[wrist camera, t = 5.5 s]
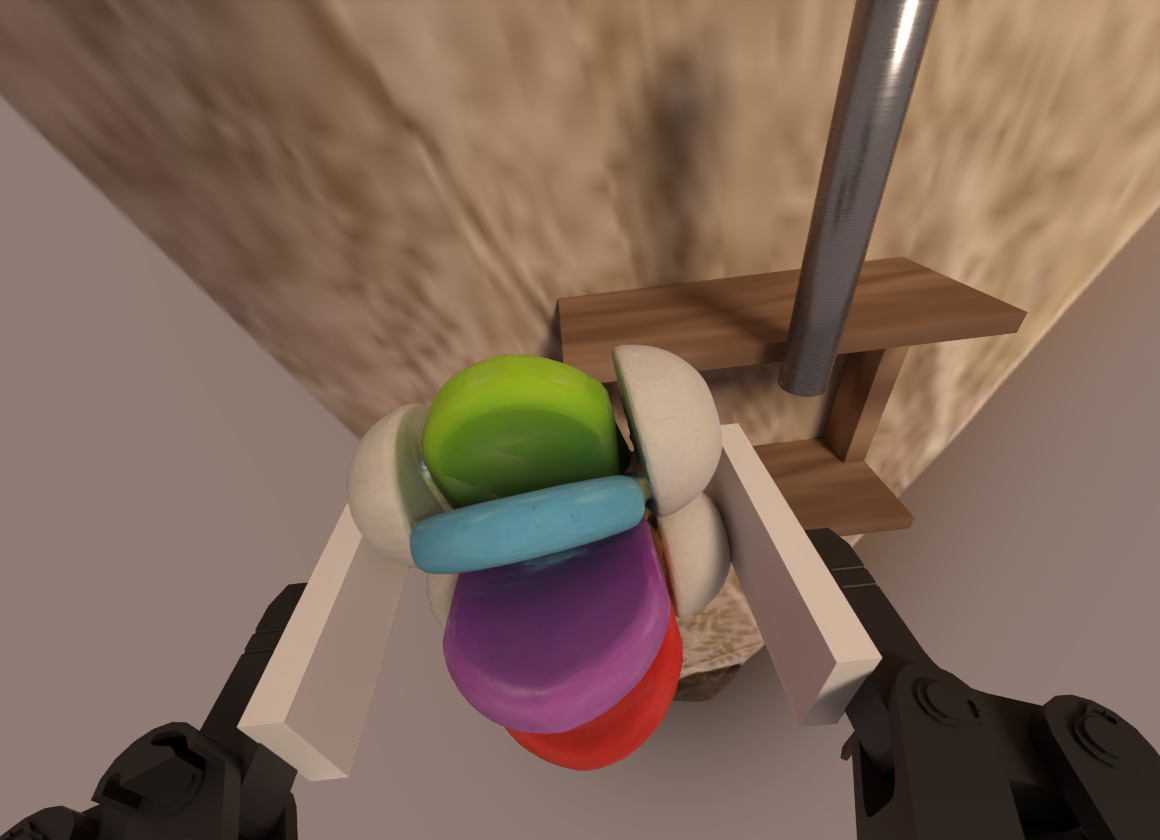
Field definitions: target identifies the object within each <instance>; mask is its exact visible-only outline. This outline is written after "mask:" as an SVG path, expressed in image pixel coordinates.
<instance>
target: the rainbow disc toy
mask: <svg viewBox="0 0 1160 840" xmlns="http://www.w3.org/2000/svg"><path fill="white" fill-rule="evenodd" d="M612 359H613V364H614V368H615V373H616V377H617V381H618V386H619V390H620V394H621V400H622V403H623V409H624V412H625V415H626V418H627V422H628V427H629V431H630V436H629V438H630V440H631V441H632V444H633V447H634V451H633V452H631V451H630V450H629V448H628V445H627V444H626V442H625V440H624V438H623V436H622V434H621V432H620V430H619V428H618V426H617V424H616V422H615V417H614V411H613V406H612V402H611V398H610V395H609V393H608V391H607V389H606V388H605V387H604V386H603V385H602V384H601V383H600V382H599V381H597V380H596V379H594V378H592V377H590V376H588V375H587V374H585V373H583V372H582V371H580V370H578V369H576V368H574V367H572V366H569V365H567V364H564V363H561V362H558V361H555V360H551V359H548V358H543V357H538V356H531V355H500V356H496V357H493V358H489V359H486V360H484V361H481V362H478V363H476V364H474V365H472V366H469V367H468V368H466V369H464V370H462V371H460V372H458V373H457V374H456V375H454V376H453V377H452V378H451V379H450V380H448V381H447V382H446V383H445V384H444V385H443V387H442V388H441V389H440V391H439V392H438V394H437V395H436V397H435V398H434V401H433V403H432V405H431V407H430V408H429V407H428V406H426V405H424V404H420V403H409V404H406V405H404V406H401V407H399V408H397V409H395V410H393V411H392V412H390V413H388V414H387V415H385V416H384V417H383V418H381V419H380V420H379V421H378V422H376V423H375V424H374V425H373V426H372V427H371V428H370V429H369V431H368V432H367V433H366V434H365V435H364V437H363V438H362V440H361V441H360V443H359V445H358V447H357V449H356V451H355V453H354V455H353V458H352V460H351V463H350V467H349V471H348V477H347V500H348V504H349V508H350V512H351V515H352V517H353V520H354V522H355V524H356V526H357V528H358V530H359V531H360V533H361V534H362V535H363V537H364V538H365V539H366V541H367V542H368V543H369V544H370V545H371V546H372V547H373V548H375V549H376V550H377V551H378V552H379V553H381V554H382V555H384V556H385V557H387V558H389V559H391V560H393V561H395V562H397V563H399V564H403V565H406V566H409V567H414V568H419V569H421V570H422V571H424V572H427V593H428V599H429V603H430V606H431V610H432V613H433V615H434V617H435V619H436V620H437V622H438V623H439V625H440V626H441V627H442V629H443V630H444V631H445V633H444V639H443V649H444V655H445V659H446V663H447V667H448V670H449V673H450V675H451V677H452V679H453V680H454V682H455V684H456V686H457V688H458V689H459V691H460V692H461V694H462V695H463V696H464V697H465V699H466V700H467V701H468V702H469V703H470V704H471V705H472V706H473V707H474V708H475V709H476V710H477V711H478V712H479V713H481V714H482V715H484V716H485V717H487V718H488V719H490V720H491V721H493V722H495V723H498V724H499V725H502V726H504V727H505V728H506V730H507V731H508V732H509V733H510V735H511V736H513V738H514V739H515V740H516V741H517V742H518V743H519V744H520V745H521V746H523V747H524V748H525V749H527V750H528V751H529V752H531V753H533V754H534V755H536V756H538V757H540V758H541V759H543V760H545V761H548V762H550V763H553V764H555V765H558V766H561V767H565V768H569V769H573V770H582V771H588V770H594V769H599V768H603V767H605V766H608V765H611V764H613V763H615V762H617V761H619V760H621V759H623V758H625V757H627V756H628V755H630V754H631V753H632V752H634V751H635V750H636V749H637V748H638V747H640V746H641V745H642V744H643V743H644V742H645V741H646V740H647V739H648V738H649V737H650V736H651V734H652V733H653V732H654V731H655V730H656V728H657V727H658V725H659V724H660V722H661V721H662V719H663V718H664V716H665V714H666V712H667V710H668V708H669V706H670V704H671V701H672V699H673V697H674V695H675V692H676V688H677V684H678V680H679V677H680V672H681V667H682V662H683V644H682V638H681V636H680V632H679V629H678V626H677V623H676V618H675V616H676V617H678V618H684V617H687V616H690V615H692V614H694V613H696V612H698V611H699V610H701V609H703V608H704V607H705V606H706V605H708V604H709V603H710V602H711V601H712V600H713V599H714V598H715V596H716V595H717V594H718V593H719V591H720V590H721V588H722V586H723V584H724V582H725V580H726V578H727V575H728V572H729V568H730V562H731V555H730V548H729V543H728V538H727V534H726V530H725V527H724V524H723V521H722V518H721V516H720V513H719V511H718V509H717V507H716V505H715V504H714V502H713V500H712V499H711V498H710V497H709V496H708V495H707V494H706V493H705V492H704V491H703V490H704V489H705V487H706V486H707V485H708V483H709V482H710V480H711V478H712V476H713V474H714V473H715V470H716V468H717V465H718V463H719V460H720V456H721V451H722V432H721V427H720V421H719V417H718V413H717V410H716V407H715V404H714V401H713V398H712V395H711V392H710V390H709V388H708V386H707V384H706V382H705V380H704V379H703V377H702V376H701V375H700V374H699V373H698V371H696V370H695V369H694V368H693V367H692V366H691V365H690V364H688V363H687V362H686V361H684V360H683V359H681V358H680V357H678V356H676V355H674V354H672V353H670V352H668V351H666V350H663V349H659V348H656V347H652V346H646V345H619V346H617V347H614V349H613V350H612ZM645 507H646V508H647V510H648V515H649V516H648V519H647V521H646V519H645V518H644V517H643V514H644V511H645Z"/></svg>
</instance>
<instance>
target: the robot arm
mask: <svg viewBox="0 0 1160 840" xmlns="http://www.w3.org/2000/svg"><path fill="white" fill-rule="evenodd" d="M720 427H721V432H722V451H721V456H720V460H719V463H718V465H717V468H716V470H715V473H714V474H713V476H712V478H711V480H710V482H709V483H708V485H707V486H706V487H705V489H704V490H703V491H704V492H705V493H706V494H707V495H708V496H709V497H710V498H711V499H712V500H713V502H714V504H715V505H716V507H717V509H718V511H719V513H720V516H721V518H722V521H723V524H724V527H725V530H726V534H727V538H728V543H729V548H730V555H731V562H732V565H733V567H734V569H735V572H736V574H737V577H738V579H739V581H740V584H741V586H742V589H743V591H744V594H745V596H746V598H747V601H748V603H749V606H750V608H751V611H752V613H753V615H754V618H755V620H756V623H757V625H758V627H759V630H760V632H761V635H762V637H763V640H764V642H765V644H766V647H767V649H768V651H769V654H770V656H771V659H772V661H773V664H774V666H775V669H776V671H777V673H778V675H779V678H780V680H781V683H782V685H783V688H784V690H785V692H786V695H787V697H788V700H789V702H790V705H791V707H792V710H793V712H794V714H795V717H796V719H797V722H798V724H799V727H809V726H818V725H828V724H837V723H838V721H839V720H840V718H841V717H842V715H843V714H844V712H846V714H847V716H848V718H849V720H850V722H851V724H852V726H853V728H854V730H855V731H854V732H853V734H852V735H851V736H850V737H849V739H848V740H847V741H846V743H845V744H844V745H843V747H842V753H841V759H844V760H846V761H847V760H848V759H849V757H850V756H851V755H852V760H853V777H854V794H855V811H856V828H857V840H1160V756H1159V754H1158V753H1157V752H1156V750H1155V749H1154V748H1153V747H1152V746H1151V745H1150V743H1149V742H1148V741H1147V740H1146V739H1145V738H1144V737H1143V736H1142V735H1141V734H1140V733H1139V731H1138V730H1137V729H1136V728H1134V727H1133V726H1132V725H1130V724H1129V723H1128V722H1126V721H1125V720H1124V719H1122V718H1121V717H1120V716H1118V715H1117V714H1116V713H1115V712H1113V711H1111V710H1109V709H1107V708H1105V707H1103V706H1101V705H1099V704H1098V703H1096V702H1094V701H1092V700H1088V699H1085V698H1081V697H1078V696H1074V695H1060V696H1055V697H1054V698H1052V699H1051V700H1049V701H1048V702H1047V703H1046V704H1044V705H1043V706H1040V705H1036V704H1032V703H1027V702H1023V701H1019V700H1014V699H1009V698H1005V697H1001V696H997V695H992V694H987V693H985V692H981V691H978V690H975V689H972V688H970V687H969V686H968V685H967V684H965V683H964V682H963V681H961V680H960V679H959V678H957V677H956V676H955V675H953V674H952V673H949V672H947V671H945V670H943V669H941V668H939V667H938V666H937V665H936V664H935V663H934V662H933V661H932V660H931V659H930V658H929V656H928V655H927V654H926V653H925V652H924V650H923V649H922V647H921V646H920V645H919V643H918V642H917V640H916V639H915V637H914V636H913V635H912V633H911V632H910V630H909V629H908V627H907V626H906V625H905V623H904V622H903V620H902V619H901V618H900V616H899V615H898V613H897V612H896V610H895V609H894V608H893V606H892V605H891V603H890V602H889V600H888V599H887V597H886V596H885V595H884V593H883V592H882V590H881V589H880V587H879V586H876V584H875V583H876V582H875V580H874V579H873V577H872V576H871V575H870V573H869V572H868V570H867V569H865V568H864V566H863V563H862V562H861V560H860V559H859V558H858V556H857V554H856V553H855V552H854V550H853V549H852V547H851V546H850V544H848V543H847V542H846V541H845V540H843V539H842V538H841V537H840V536H838V535H837V534H836V533H835V532H833V531H832V530H831V529H830V528H819V529H810V530H803V528H802V526H801V525H800V523H799V522H798V520H797V518H796V517H795V515H794V513H793V512H792V510H791V509H790V507H789V505H788V504H787V502H786V500H785V499H784V497H783V496H782V494H781V492H780V491H779V489H778V487H777V486H776V484H775V483H774V481H773V479H772V478H771V476H770V474H769V473H768V471H767V470H766V468H765V466H764V465H763V463H762V461H761V460H760V458H759V457H758V455H757V453H756V452H755V450H754V448H753V447H752V445H751V444H750V442H749V440H748V439H747V437H746V435H745V434H744V432H743V431H742V429H741V427H740V426H739V424H738V423H737V424H727V425H720ZM408 570H409V566H406V565H403V564H399V563H397V562H395V561H393V560H391V559H389V558H387V557H385V556H384V555H382V554H381V553H379V552H378V551H377V550H376V549H375V548H373V547H372V546H371V545H370V544H369V543H368V542H367V541H366V539H365V538H364V537H363V535H362V534H361V533H360V531H359V530H358V528H357V526H356V524H355V522H354V520H353V517H352V515H351V512H350V508H349V504H348V503H347V505H346V507H345V509H344V511H343V513H342V515H341V517H340V519H339V521H338V523H337V525H336V527H335V529H334V531H333V533H332V536H331V537H330V539H329V542H328V543H327V545H326V547H325V549H324V552H323V553H322V555H321V558H320V560H319V562H318V564H317V566H316V568H315V570H314V572H313V574H312V576H311V578H310V580H309V582H308V583H299V584H290V585H288V586H287V587H286V588H285V589H284V590H283V591H282V592H281V593H280V594H279V595H278V596H277V597H276V598H275V600H274V601H273V602H272V603H271V604H270V605H269V606H268V608H267V609H266V611H265V613H264V615H263V617H262V619H261V620H260V622H259V624H258V626H257V628H256V629H255V630H256V633H255V634H253V635H252V637H251V639H250V640H249V642H248V644H247V646H246V648H245V653H244V654H242V655H241V657H240V659H239V660H238V662H237V664H236V666H235V668H234V669H233V672H232V673H231V675H230V677H229V679H228V680H227V682H226V684H225V686H224V688H223V690H222V691H221V693H220V695H219V697H218V699H217V700H216V702H215V704H214V706H213V708H212V710H211V711H210V713H209V715H208V717H207V719H206V720H205V722H204V724H203V726H202V728H201V730H200V731H199V730H197V729H196V728H194V727H193V726H191V725H190V724H188V723H185V722H171V723H169V724H166V725H163V726H160V727H158V728H155V729H153V730H151V731H150V732H148V733H147V734H145V735H144V736H142V737H140V738H139V739H137V740H136V741H134V742H133V743H132V744H131V745H130V746H129V747H128V748H127V749H126V750H125V751H124V752H123V753H121V754H120V755H119V756H118V757H117V758H116V759H115V760H114V762H113V763H112V764H111V766H110V767H109V768H108V770H107V771H106V773H105V774H104V775H103V776H102V778H101V779H100V781H99V783H98V785H97V788H96V790H95V792H94V795H93V797H92V799H91V801H94V802H96V803H99V805H97V806H95V807H92V808H90V809H88V810H86V811H84V812H81V813H80V812H77V811H75V810H72V809H69V808H67V807H64V806H56V807H50V808H45V809H43V810H40V811H38V812H36V813H34V814H32V815H30V816H28V817H26V818H24V819H23V820H22V821H20V822H19V823H18V824H16V825H15V826H14V827H12V828H11V829H10V830H8V831H7V832H5V833H4V834H3V835H1V836H0V840H298V834H297V810H296V803H295V799H294V796H293V794H292V793H291V792H290V790H291V788H292V785H293V782H294V780H295V777H296V774H297V772H298V773H300V774H301V775H302V776H304V777H305V778H306V779H308V780H309V781H317V780H326V779H335V778H345V777H349V774H350V770H351V767H352V763H353V760H354V756H355V753H356V749H357V746H358V742H359V739H360V736H361V732H362V728H363V725H364V722H365V718H366V715H367V711H368V708H369V704H370V701H371V698H372V694H373V691H374V687H375V684H376V680H377V677H378V673H379V670H380V666H381V663H382V660H383V656H384V653H385V649H386V646H387V642H388V639H389V635H390V632H391V629H392V625H393V622H394V618H395V614H396V611H397V608H398V604H399V601H400V598H401V594H402V590H403V587H404V584H405V580H406V577H407V573H408Z"/></svg>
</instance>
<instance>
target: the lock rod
mask: <svg viewBox="0 0 1160 840" xmlns="http://www.w3.org/2000/svg"><path fill="white" fill-rule="evenodd" d="M938 3H939V0H856V4H855V9H854V13H853V18H852V23H851V28H850V33H849V38H848V43H847V48H846V52H845V57H844V62H843V67H842V72H841V77H840V82H839V86H838V91H837V96H836V101H835V106H834V111H833V116H832V121H831V125H830V130H829V135H828V140H827V145H826V150H825V155H824V159H823V164H822V169H821V174H820V179H819V184H818V189H817V194H816V198H815V203H814V208H813V213H812V218H811V223H810V228H809V232H808V237H807V242H806V247H805V252H804V257H803V262H802V267H801V271H800V276H799V281H798V286H797V291H796V296H795V301H794V306H793V310H792V315H791V320H790V325H789V330H788V335H787V340H786V344H785V349H784V354H783V359H782V364H781V369H780V374H779V379H778V384H779V386H780V387H781V388H782V389H783V390H785V391H786V392H789V393H791V394H794V395H798V396H807V397H808V396H817V395H821V394H823V393H824V392H825V391H826V390H827V388H828V384H829V381H830V377H831V374H832V370H833V367H834V363H835V360H836V356H837V353H838V349H839V346H840V342H841V339H842V336H843V332H844V329H845V325H846V322H847V318H848V315H849V311H850V308H851V304H852V301H853V297H854V294H855V291H856V287H857V284H858V280H859V277H860V273H861V270H862V266H863V263H864V259H865V256H866V252H867V249H868V245H869V242H870V239H871V235H872V232H873V228H874V225H875V221H876V218H877V214H878V211H879V207H880V204H881V200H882V197H883V194H884V190H885V187H886V183H887V180H888V176H889V173H890V169H891V166H892V162H893V159H894V155H895V152H896V148H897V145H898V142H899V138H900V135H901V131H902V128H903V124H904V121H905V117H906V114H907V110H908V107H909V103H910V100H911V96H912V93H913V90H914V86H915V83H916V79H917V76H918V72H919V69H920V65H921V62H922V58H923V55H924V51H925V48H926V45H927V41H928V38H929V34H930V31H931V27H932V24H933V20H934V17H935V13H936V10H937V6H938Z"/></svg>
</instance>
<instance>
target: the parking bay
mask: <svg viewBox="0 0 1160 840" xmlns="http://www.w3.org/2000/svg"><path fill="white" fill-rule="evenodd" d="M800 271H801V269H798V270H790V271H782V272H773V273H765V274H757V275H749V276H741V277H732V278H724V279H716V280H708V281H699V282H691V283H683V284H675V285H667V286H658V287H650V288H642V289H634V290H625V291H617V292H609V293H601V294H593V295H584V296H576V297H568V298H560V299H558V302H559V314H560V327H561V340H562V352H563V363H564V364H567V365H569V366H572V367H574V368H576V369H578V370H580V371H582V372H583V373H585V374H587V375H588V376H590V377H592V378H594V379H596V380H597V381H599V382H600V383H605V382H613V381H617V377H616V373H615V368H614V364H613V359H612V350H613V349H614V347H617V346H619V345H646V346H652V347H656V348H659V349H663V350H666V351H668V352H670V353H672V354H674V355H676V356H678V357H680V358H681V359H683V360H684V361H686V362H687V363H688V364H690V365H691V366H692V367H693V368H694V369H695V370H696V371H704V370H713V369H721V368H729V367H737V366H746V365H754V364H762V363H770V362H779V361H782V359H783V354H784V349H785V344H786V340H787V335H788V330H789V325H790V320H791V315H792V310H793V306H794V301H795V296H796V291H797V286H798V281H799V276H800ZM1027 313H1028V312H1026V311H1023V310H1021V309H1019V308H1017V307H1014V306H1012V305H1010V304H1008V303H1005V302H1003V301H1001V300H999V299H996V298H994V297H992V296H990V295H987V294H985V293H983V292H981V291H978V290H976V289H974V288H971V287H969V286H967V285H965V284H962V283H960V282H958V281H956V280H953V279H951V278H949V277H947V276H944V275H942V274H940V273H938V272H935V271H933V270H931V269H929V268H926V267H924V266H922V265H920V264H917V263H915V262H913V261H911V260H908V259H906V258H904V257H897V258H889V259H880V260H872V261H864V263H863V266H862V270H861V273H860V277H859V280H858V284H857V287H856V291H855V294H854V297H853V301H852V304H851V308H850V311H849V315H848V318H847V322H846V325H845V329H844V332H843V336H842V339H841V342H840V346H839V349H838V353H837V354H845V353H849V355H848V358H847V361H846V365H845V368H844V371H843V374H842V378H841V381H840V384H839V387H838V391H837V394H836V397H835V400H834V404H833V407H832V410H831V414H830V417H829V420H828V423H827V427H826V430H825V433H824V436H823V438H818V439H809V440H801V441H793V442H785V443H776V444H768V445H760V446H752V447H753V448H754V450H755V452H756V453H757V455H758V457H759V458H760V460H761V461H762V463H763V465H764V466H765V468H766V470H767V471H768V473H769V474H770V476H771V478H772V479H773V481H774V483H775V484H776V486H777V487H778V489H779V491H780V492H781V494H782V496H783V497H784V499H785V500H786V502H787V504H788V505H789V507H790V509H791V510H792V512H793V513H794V515H795V517H796V518H797V520H798V522H799V523H800V525H801V526H802V528H803V530H810V529H819V528H830V529H831V530H832V531H833V532H835V533H836V534H837V535H838V536H848V535H856V534H865V533H873V532H881V531H889V530H898V529H906V528H909V527H910V526H911V524H912V522H913V520H914V517H913V516H912V515H911V513H910V512H909V511H908V510H907V509H906V508H905V507H904V505H903V504H902V503H901V502H900V501H899V500H898V499H897V497H896V496H895V495H894V494H893V493H892V492H891V491H890V490H889V488H888V487H887V486H886V485H885V484H884V483H883V482H882V481H881V479H880V478H879V477H878V476H877V475H876V474H875V473H874V472H873V470H872V469H871V468H870V467H869V466H868V465H867V464H866V462H865V461H864V459H865V457H866V454H867V452H868V449H869V447H870V444H871V442H872V439H873V437H874V434H875V432H876V429H877V427H878V424H879V422H880V419H881V416H882V414H883V411H884V409H885V406H886V404H887V401H888V399H889V396H890V394H891V391H892V389H893V386H894V384H895V381H896V379H897V376H898V374H899V371H900V368H901V366H902V363H903V361H904V358H905V356H906V353H907V351H908V348H909V346H911V345H919V344H927V343H936V342H944V341H952V340H961V339H969V338H977V337H985V336H994V335H1002V334H1010V333H1017V331H1018V329H1019V327H1020V325H1021V324H1022V322H1023V320H1024V318H1025V316H1026V314H1027ZM648 516H649V515H648V510H647V508H646V507H645V511H644V514H643V517H644V518H645V519H646V521H647V519H648Z"/></svg>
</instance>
